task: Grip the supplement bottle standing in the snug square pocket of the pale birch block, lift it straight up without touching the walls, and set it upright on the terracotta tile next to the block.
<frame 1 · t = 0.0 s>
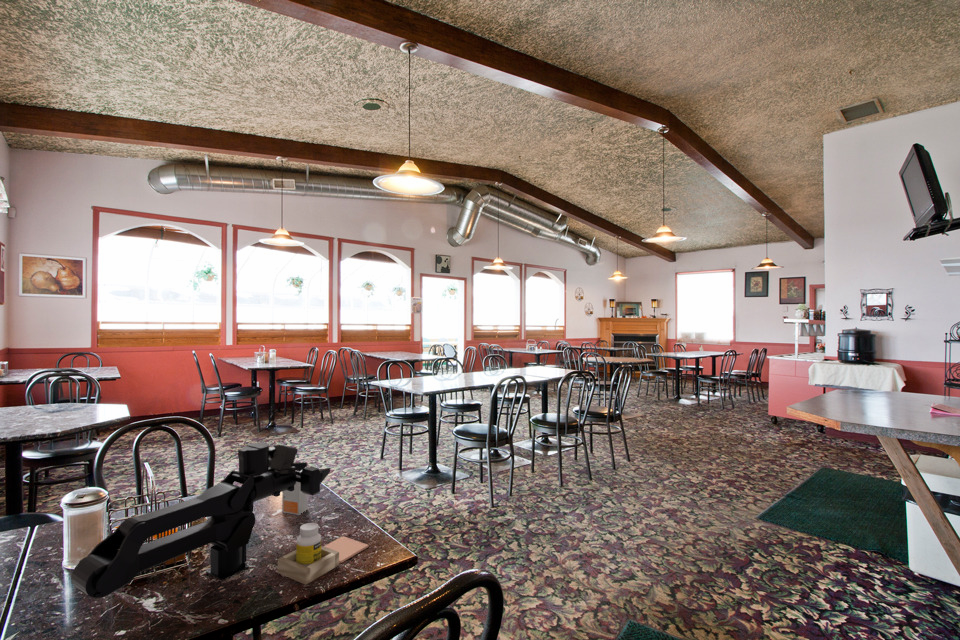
hand: (318, 467, 128), 17 cm above the table, tool horizontal, fingers open, 9 cm apart
pocket block: (308, 568, 107), on the table
supplement bottle: (308, 569, 107), resting in pocket block
tile: (342, 549, 116), on the table
skincare box: (295, 512, 139), on the table
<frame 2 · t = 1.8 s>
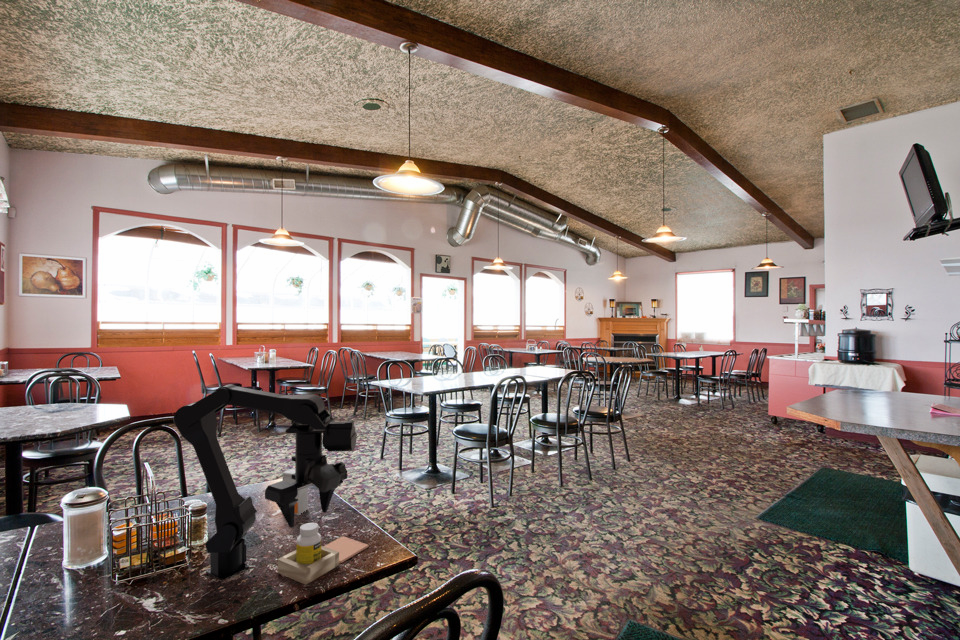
hand: (308, 519, 107), 11 cm above the table, tool pointing down, fingers open, 9 cm apart
nothing on the table moved.
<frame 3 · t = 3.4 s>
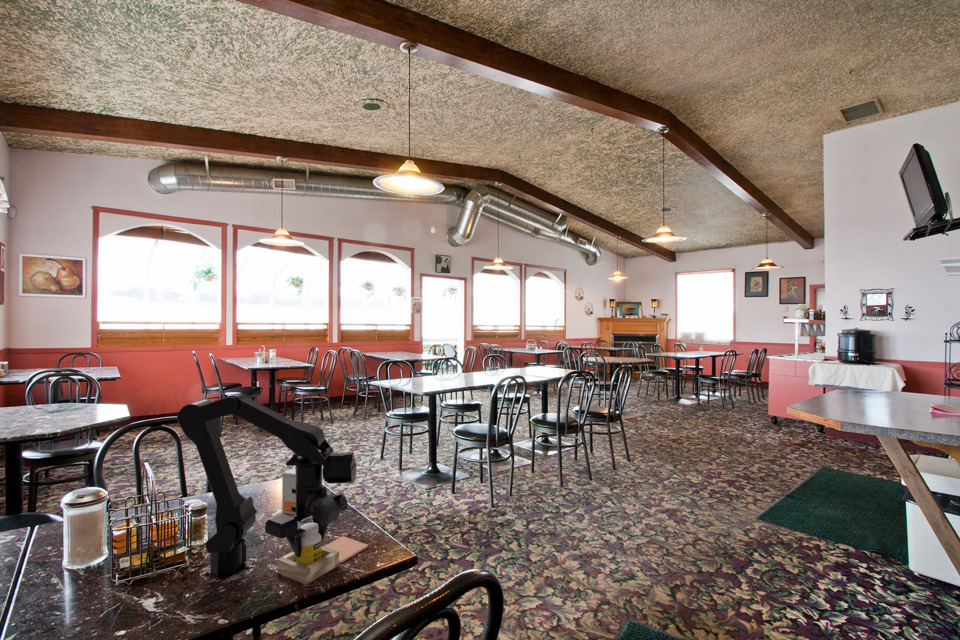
hand: (308, 551, 107), 4 cm above the table, tool pointing down, fingers closed on supplement bottle, 5 cm apart
supplement bottle: (308, 569, 107), resting in pocket block, touching gripper
everything else where it was.
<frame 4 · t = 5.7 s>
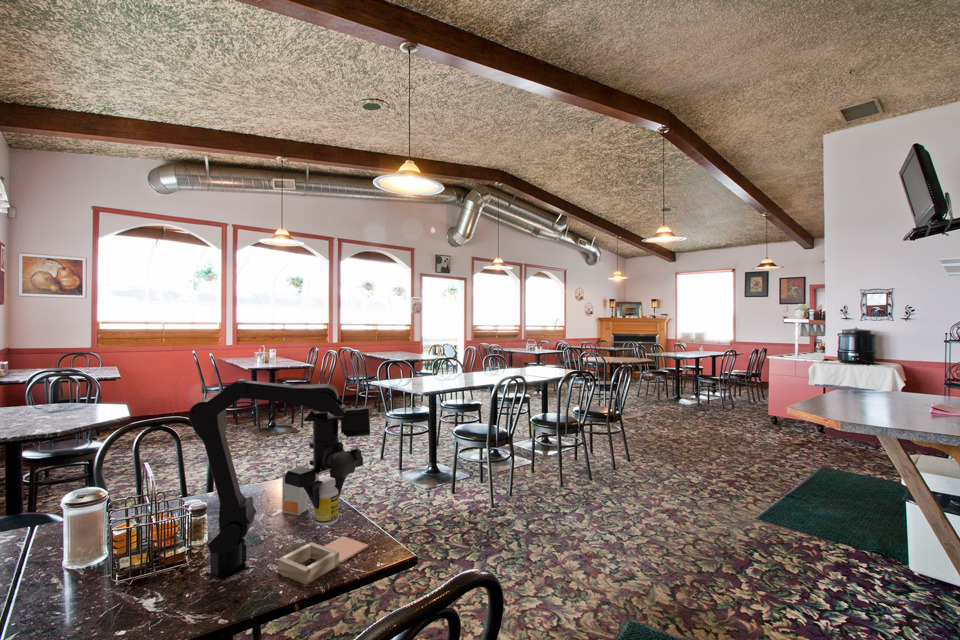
hand: (326, 503, 111), 13 cm above the table, tool pointing down, fingers closed on supplement bottle, 5 cm apart
supplement bottle: (326, 521, 111), point 9 cm above the table, touching gripper
everything else where it was.
when the fingers open (5 cm above the table, at t = 8.2 s): supplement bottle stays where it is, resting on tile.
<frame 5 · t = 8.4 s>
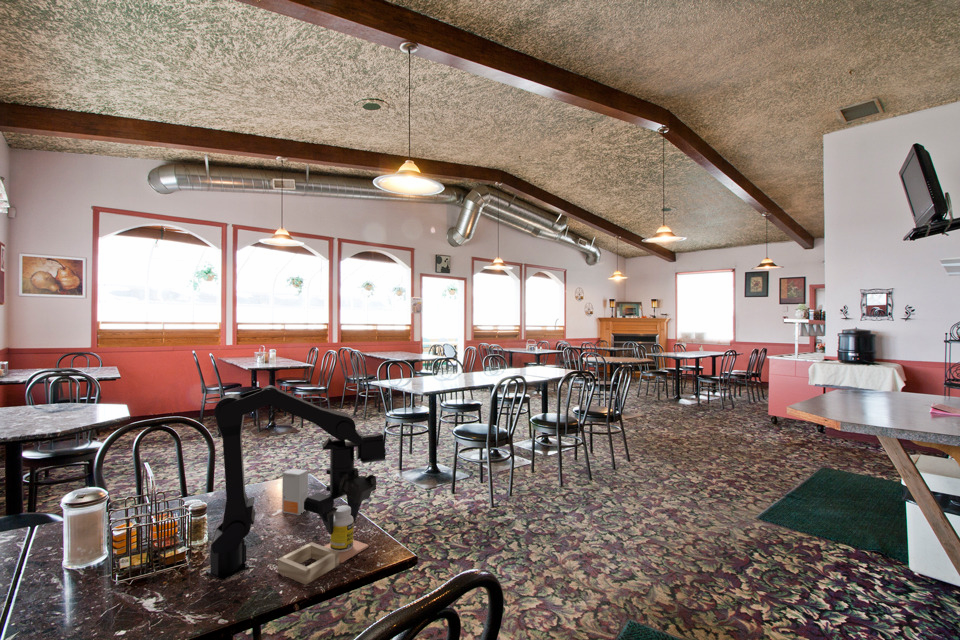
hand: (341, 527, 116), 5 cm above the table, tool pointing down, fingers open, 7 cm apart
supplement bottle: (341, 548, 116), resting on tile
everything else where it was.
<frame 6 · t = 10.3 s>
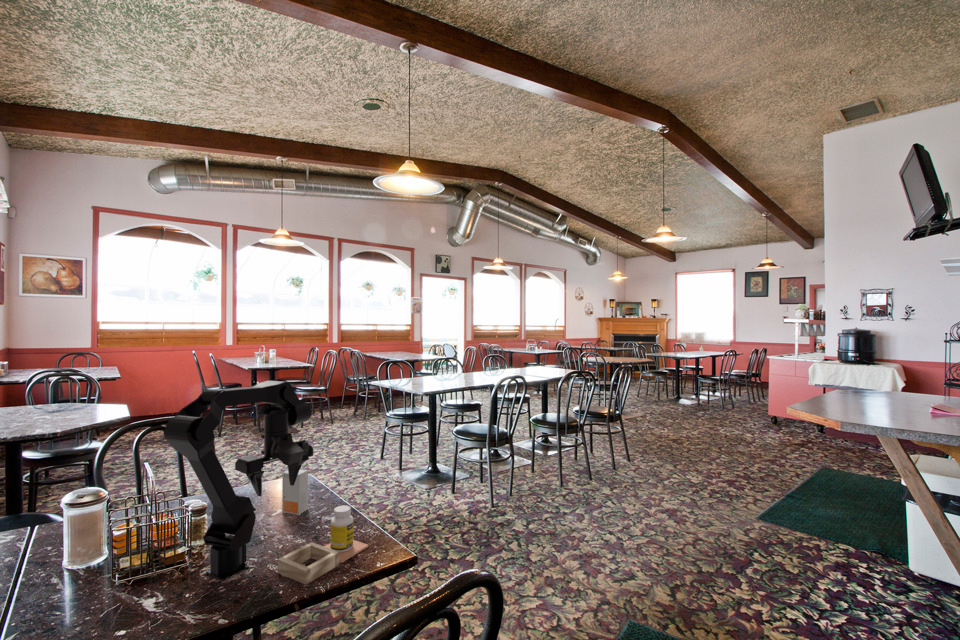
hand: (276, 490, 121), 13 cm above the table, tool pointing down, fingers open, 9 cm apart
nothing on the table moved.
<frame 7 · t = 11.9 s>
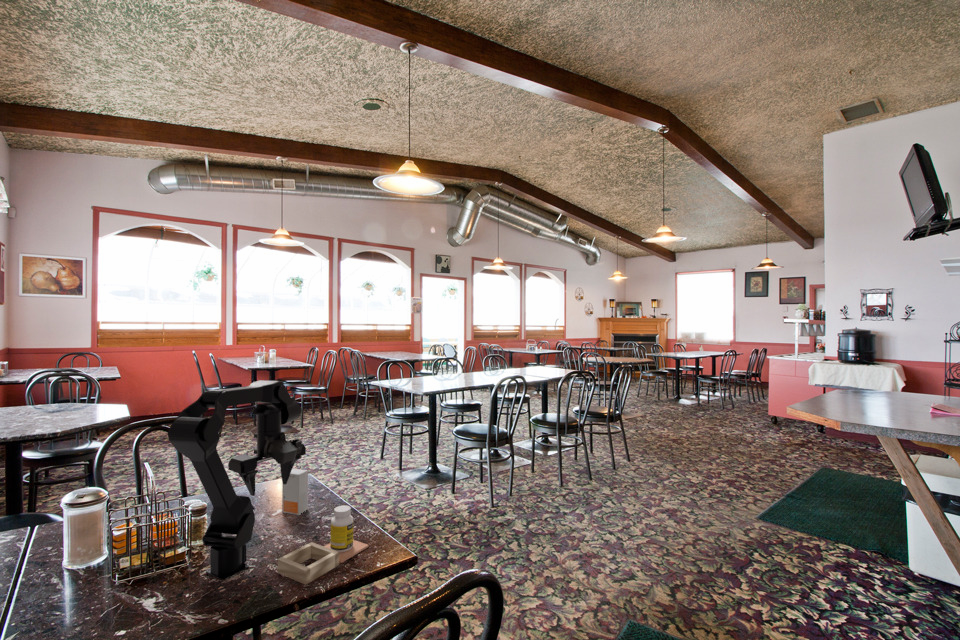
hand: (269, 489, 121), 13 cm above the table, tool pointing down, fingers open, 9 cm apart
nothing on the table moved.
at the end: supplement bottle 0.0 cm off-centre on the tile, point 0.3 cm above the tile's base; supplement bottle tilted 0°; the gripper is holding nothing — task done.
